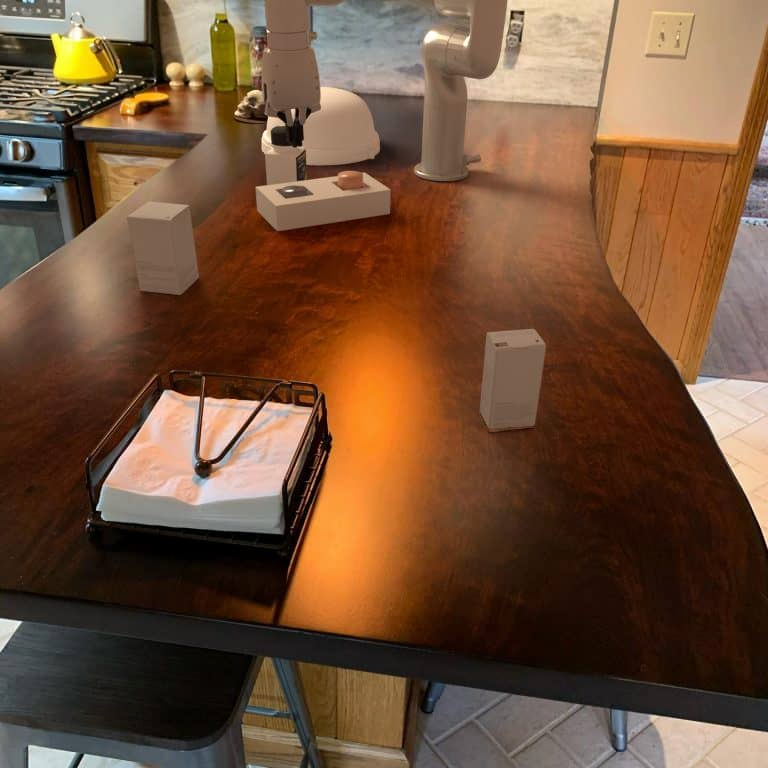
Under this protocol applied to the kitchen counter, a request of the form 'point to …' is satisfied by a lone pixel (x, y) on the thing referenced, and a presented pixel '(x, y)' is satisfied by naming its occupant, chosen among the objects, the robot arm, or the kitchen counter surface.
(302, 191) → the charcoal button
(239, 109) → the skull
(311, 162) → the dome cover
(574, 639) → the kitchen counter surface
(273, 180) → the medicine bottle
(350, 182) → the light brown rounded piece
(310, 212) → the button console
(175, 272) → the supplement box
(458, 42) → the robot arm
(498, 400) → the skincare box
